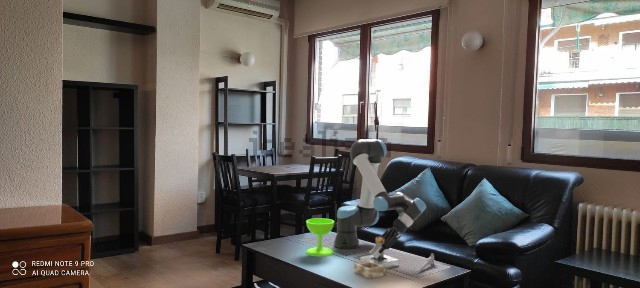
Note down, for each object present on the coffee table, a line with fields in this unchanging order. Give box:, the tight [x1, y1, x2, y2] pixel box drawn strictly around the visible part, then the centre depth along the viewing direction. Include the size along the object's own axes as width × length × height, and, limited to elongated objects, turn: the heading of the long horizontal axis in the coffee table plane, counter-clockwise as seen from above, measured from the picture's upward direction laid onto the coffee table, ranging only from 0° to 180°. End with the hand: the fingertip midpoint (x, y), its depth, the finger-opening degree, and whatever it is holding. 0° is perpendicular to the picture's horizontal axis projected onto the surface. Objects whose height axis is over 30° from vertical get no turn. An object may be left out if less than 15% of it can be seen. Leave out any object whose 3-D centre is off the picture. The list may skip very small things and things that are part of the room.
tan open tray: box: [353, 261, 387, 279], centre depth 222 cm, size 12×10×4 cm
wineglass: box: [305, 217, 335, 258], centre depth 257 cm, size 16×16×18 cm
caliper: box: [415, 252, 435, 275], centre depth 231 cm, size 20×1×6 cm, turn 143°
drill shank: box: [374, 236, 385, 261], centre depth 237 cm, size 5×5×14 cm
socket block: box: [360, 254, 400, 269], centre depth 238 cm, size 14×14×3 cm
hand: (372, 255), depth 237 cm, fingers closed on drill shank, 4 cm apart
